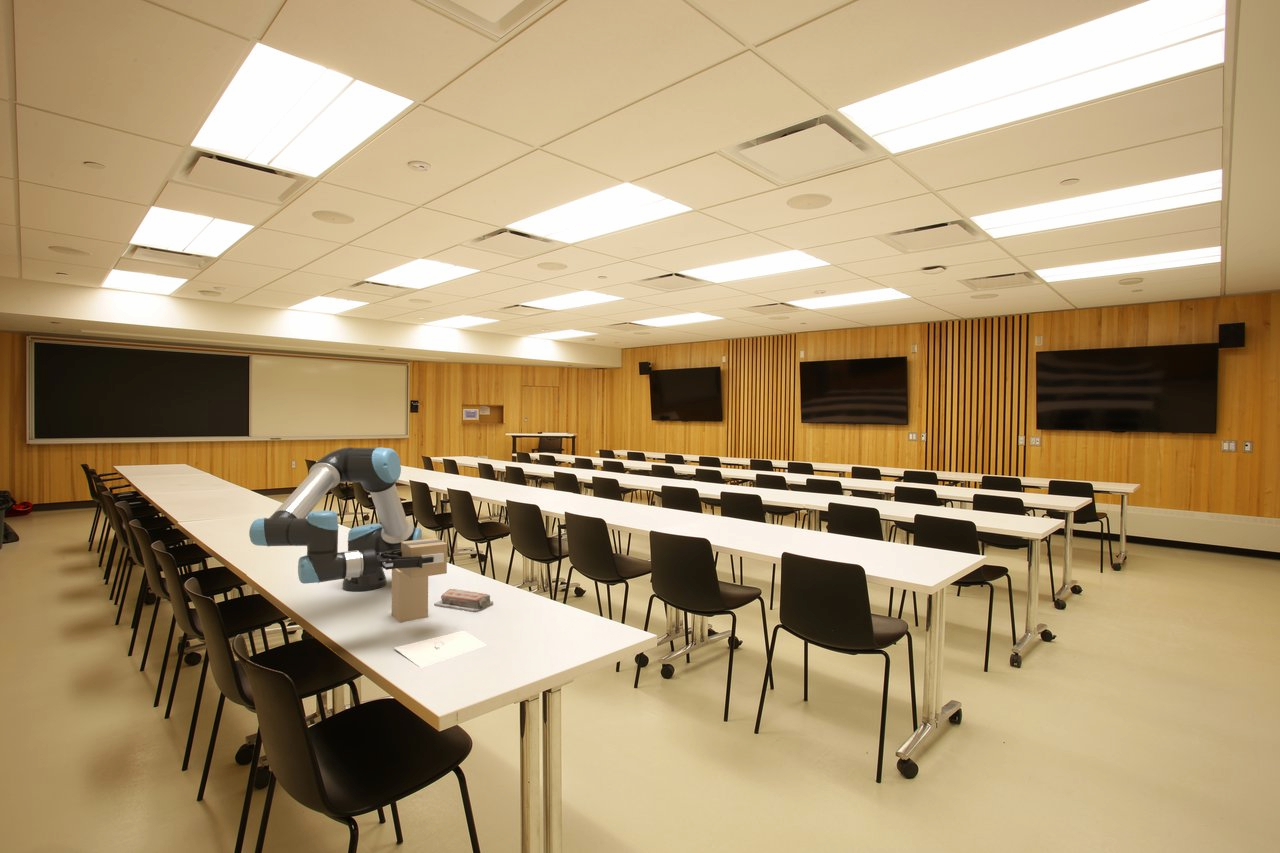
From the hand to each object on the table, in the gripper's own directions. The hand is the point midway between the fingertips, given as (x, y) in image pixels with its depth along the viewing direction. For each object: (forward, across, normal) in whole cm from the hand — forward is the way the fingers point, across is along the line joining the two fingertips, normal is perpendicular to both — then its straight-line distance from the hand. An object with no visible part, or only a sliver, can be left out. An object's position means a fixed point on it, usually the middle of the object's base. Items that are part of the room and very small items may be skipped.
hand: (437, 554), depth 185 cm
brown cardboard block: (-4, 0, -5) cm, 6 cm away
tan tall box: (-4, -16, -23) cm, 28 cm away
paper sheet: (-3, +23, -24) cm, 33 cm away
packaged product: (+15, -17, -23) cm, 32 cm away
